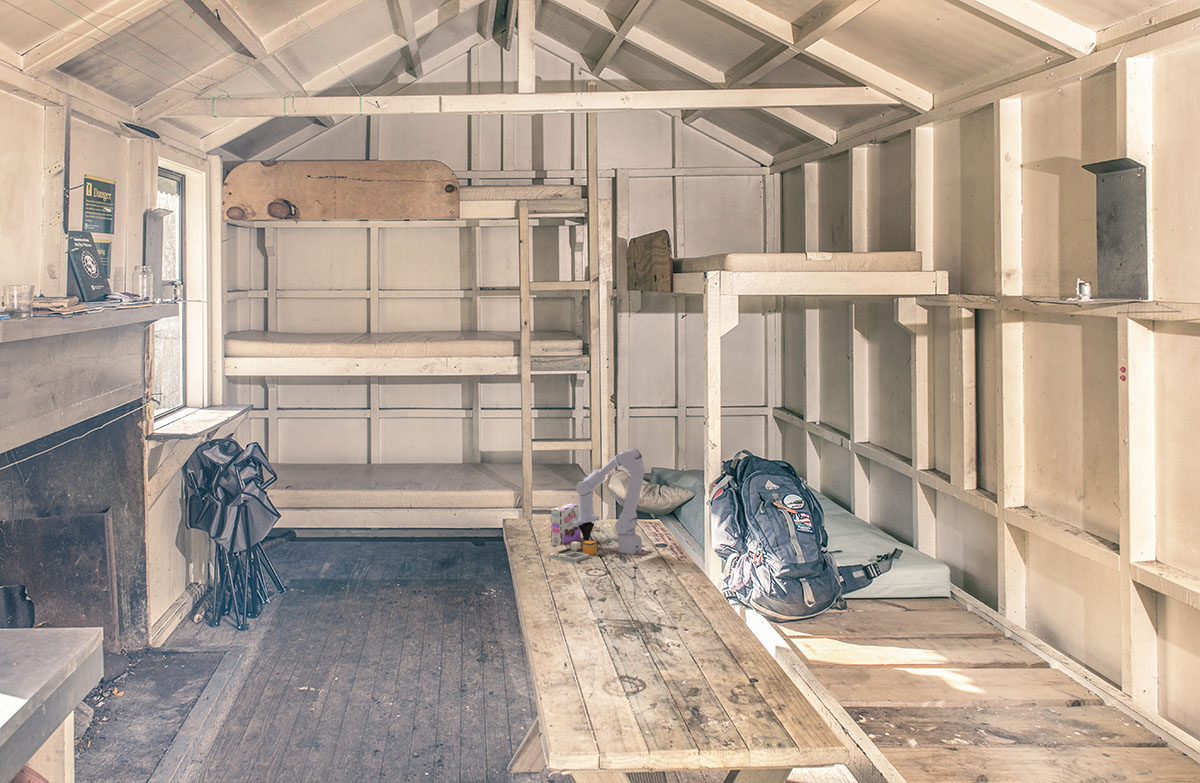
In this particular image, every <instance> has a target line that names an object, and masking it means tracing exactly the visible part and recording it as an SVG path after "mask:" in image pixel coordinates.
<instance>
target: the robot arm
mask: <svg viewBox="0 0 1200 783" xmlns="http://www.w3.org/2000/svg"><path fill="white" fill-rule="evenodd" d="M621 466H622V467H623V468H624V469H626V471H628V472H629V474H630V478H629V482H628V486H627V491H626V495H625V500H624V503H623V504H624V505H623V509H622V511H621V512H620V514H619V517H618V519H617V520H616V521H615V524H614V525H615V526H614V529H615V531H616V532H617V542H618V543H617V544H618V550H617V551H618V552H619V553H621V554H629V555H635V554H638V553H640V552H642V549H643V548H642V543H643V542H642V538H641V536H640V535H639V534H637V533H636V528H637V526H638V519H637V518H638V514H637V507H638V503H639V498H640V495H641V490H642V485H643V482H644V477H645V473H646V472H645V467H644V461H643V454H642V453H641V452H640V450H639V449H638V448H635V447H631V448H629V449H627V450H623V451H620V453H618V454H616V455H614V456H613V457H612V458H611V459H610V460H609V461H608V462H607V463H606V464H605V465H603V467H601V468H600V469H597V468H596V469H593V470H591V471H590V474H589V475H587V476H585V477H583V480H581V481H578V483H577V484H576V486H575V490H576V493H577V494H578V505H579V518H578V520H576V521H574V522H573V526H574V527H579V528H580V533H581V534H582V539H583V541H588V540H590V538H591V534H592V532H593V529H594V527H595V522H596V521H600V515H597V514H595V515H593V514H594V513H593V492H594V490H595V489H596V488H597V487H598V486H600V484H602V483H603V482H604V481H606V475H608V474H610V472H612V471H613V470H614V469H615V468H617V467H621Z"/></svg>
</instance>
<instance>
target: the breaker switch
mask: <svg viewBox="0 0 1200 783" xmlns="http://www.w3.org/2000/svg"><path fill="white" fill-rule="evenodd" d="M570 547H571V550H578V549H581V542H580V541H577V540H574V541H571V542H570Z"/></svg>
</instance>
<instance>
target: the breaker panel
mask: <svg viewBox="0 0 1200 783" xmlns="http://www.w3.org/2000/svg"><path fill="white" fill-rule="evenodd" d="M601 554H603V552H598V551H597V553H596V554H593V555H589V554H584V553H583V547H580V549H578V550H571V546H570V547H567V548H564V549H561V550H559V551H558V552H556V553H551V554H550V555H548V556H545V558H546V559H551V560H555V561H560V562H565V563H568V564H570V563H571V564H575V563H578V562H581V561H584V560H586V559H590V558H592V557H595V556H599V555H601Z"/></svg>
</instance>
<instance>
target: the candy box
mask: <svg viewBox="0 0 1200 783" xmlns="http://www.w3.org/2000/svg"><path fill="white" fill-rule="evenodd" d="M578 518H579V503H578V504H577V503H567V504H564V505H560V506H557V507H554V508H550V537H551V540H550V541H551V546H553V547H558V546H561V545H564V544H568V543H571V542H574V541H577V540H579V539H581V534H582V533H581V530H580V528H579V527H574V526H573V522H574V521H576V520H578Z"/></svg>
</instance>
